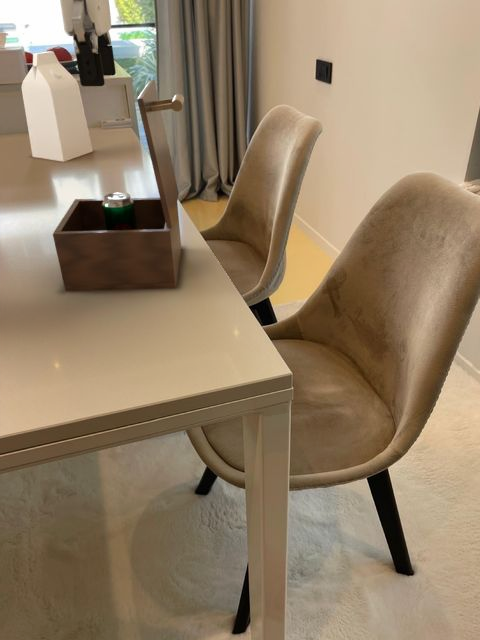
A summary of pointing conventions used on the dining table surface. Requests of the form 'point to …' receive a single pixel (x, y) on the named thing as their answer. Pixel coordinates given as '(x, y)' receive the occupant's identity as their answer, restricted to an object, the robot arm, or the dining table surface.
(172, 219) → the lid
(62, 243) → the brown wooden box
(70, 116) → the milk
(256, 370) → the dining table surface
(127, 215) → the soda can
